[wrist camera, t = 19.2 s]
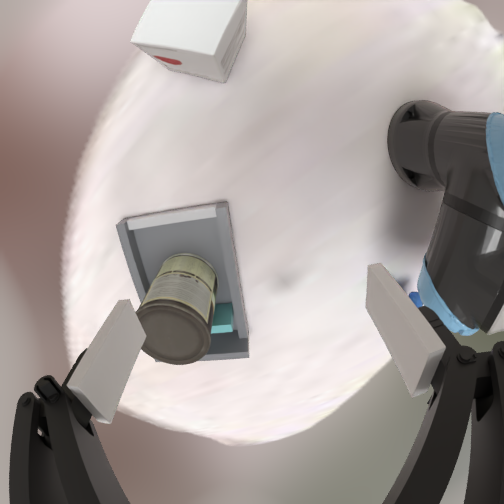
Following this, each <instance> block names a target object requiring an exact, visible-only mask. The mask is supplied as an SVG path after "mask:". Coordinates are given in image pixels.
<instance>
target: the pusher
mask: <svg viewBox="0 0 504 504" xmlns="http://www.w3.org/2000/svg"><path fill="white" fill-rule="evenodd" d="M233 315H234V310H233V305H232V303H225V304H215V308H214V315H213V322H212V329H211V333H224V332H233Z"/></svg>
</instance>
